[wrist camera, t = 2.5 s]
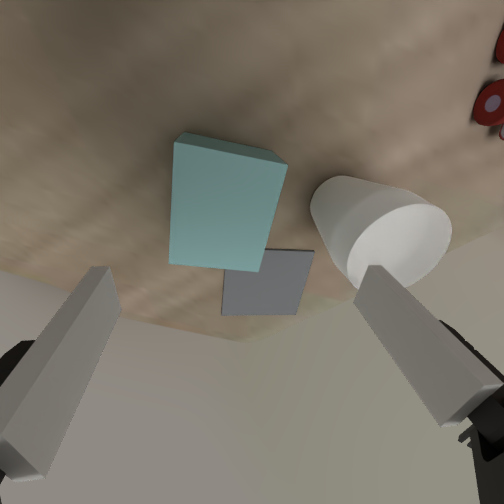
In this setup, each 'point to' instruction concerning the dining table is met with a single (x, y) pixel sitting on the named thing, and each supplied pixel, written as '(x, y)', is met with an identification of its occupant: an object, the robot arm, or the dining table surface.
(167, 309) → the dining table surface
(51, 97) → the dining table surface
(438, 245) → the cup
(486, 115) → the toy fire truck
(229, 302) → the base mat
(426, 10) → the dining table surface
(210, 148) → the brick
